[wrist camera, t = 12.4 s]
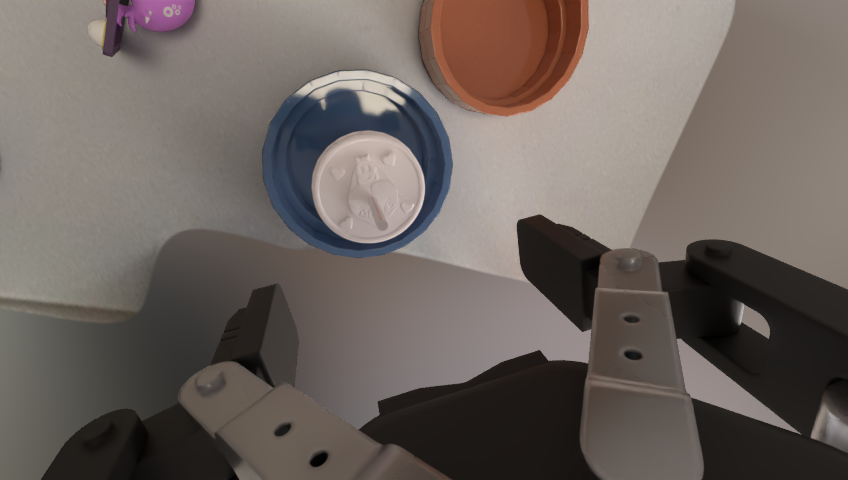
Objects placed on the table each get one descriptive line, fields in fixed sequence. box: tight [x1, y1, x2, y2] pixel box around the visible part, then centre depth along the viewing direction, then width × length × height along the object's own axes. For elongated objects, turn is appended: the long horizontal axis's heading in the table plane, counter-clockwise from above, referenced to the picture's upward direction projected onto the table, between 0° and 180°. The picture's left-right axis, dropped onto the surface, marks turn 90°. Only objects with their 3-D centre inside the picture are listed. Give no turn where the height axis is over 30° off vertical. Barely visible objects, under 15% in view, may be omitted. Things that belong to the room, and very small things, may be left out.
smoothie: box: [311, 130, 425, 243], centre depth 25 cm, size 6×6×14 cm
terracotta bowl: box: [419, 0, 589, 116], centre depth 28 cm, size 11×11×4 cm
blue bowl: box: [262, 70, 453, 258], centre depth 29 cm, size 13×13×4 cm
